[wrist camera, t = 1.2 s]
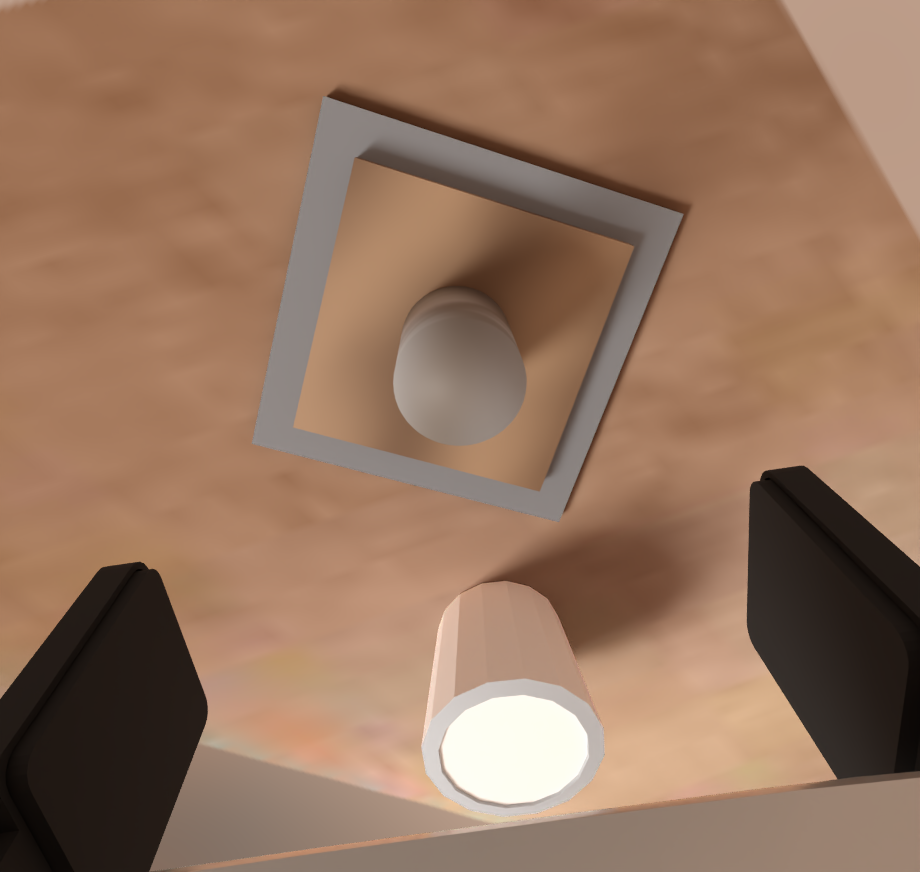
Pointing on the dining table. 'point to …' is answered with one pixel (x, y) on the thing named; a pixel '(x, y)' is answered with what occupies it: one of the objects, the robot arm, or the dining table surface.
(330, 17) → the dining table surface
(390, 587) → the dining table surface
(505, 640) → the pale pink cup
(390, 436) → the lid
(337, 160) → the mat
